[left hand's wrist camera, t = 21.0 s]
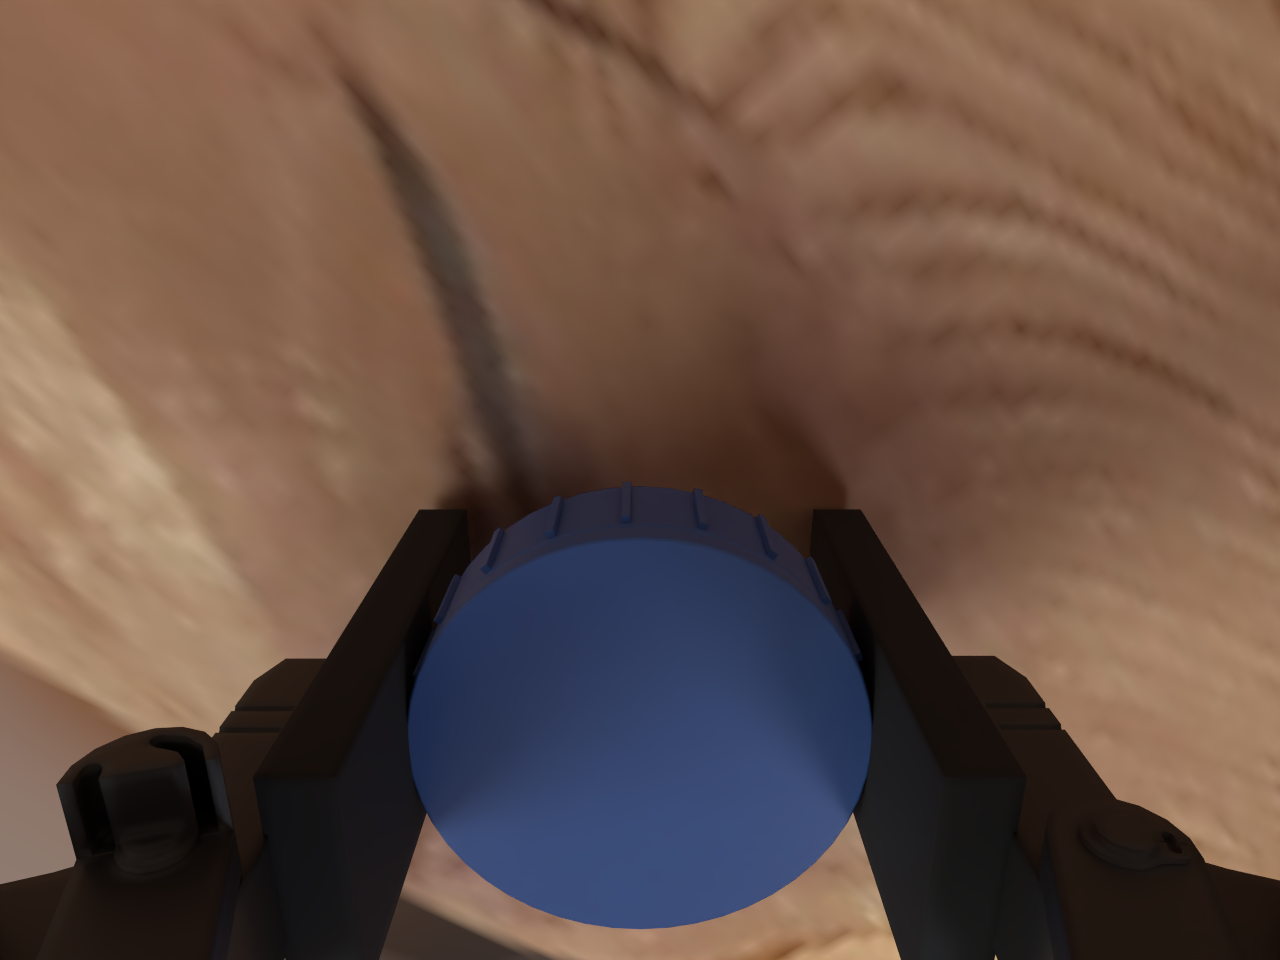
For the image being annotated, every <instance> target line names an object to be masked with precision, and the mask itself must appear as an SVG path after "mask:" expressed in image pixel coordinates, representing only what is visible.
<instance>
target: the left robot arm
mask: <svg viewBox="0 0 1280 960" xmlns="http://www.w3.org/2000/svg"><path fill="white" fill-rule="evenodd" d="M810 556H811V557H812V559H813V560H814V561H815V563H816V566H817V568H818V570H819V573H820V575H821V577H822V580H823V582H824V584H825V587H826V589H827V591H828V594H829V596H830V598H831V601H832V603H833V605H834V607H835V610H836V611H838V610H841V609H842V611H843V613H844V615H845V617H846V620H847V622H848V624H849V626H850V629H851V631H852V633H853V635H854V638H855V640H856V642H857V644H858V647H859V649H860V651H861V654H862V657H863V660H861V661H858V663H859V666H860V668H861V670H862V673H863V676H864V680H865V683H866V686H867V690H868V693H869V697H870V703H871V711H872V718H873V729H872V740H871V750H870V759H869V768H868V776H867V778H866V781H865V784H864V787H863V790H862V793H861V796H860V799H859V801H858V803H857V805H856V807H855V809H854V811H853V813H854V816H855V819H856V822H857V826H858V829H859V832H860V835H861V838H862V841H863V844H864V847H865V850H866V853H867V856H868V859H869V862H870V866H871V869H872V872H873V875H874V878H875V881H876V884H877V887H878V890H879V893H880V896H881V899H882V902H883V906H884V909H885V912H886V915H887V918H888V921H889V924H890V927H891V930H892V933H893V936H894V939H895V942H896V946H897V949H898V952H899V955H900V958H901V960H994V959H995V955H996V957H997V959H998V960H1280V880H1275V879H1271V878H1266V877H1262V876H1257V875H1253V874H1248V873H1244V872H1239V871H1235V870H1230V869H1226V868H1223V867H1219V866H1216V865H1212V864H1209V863H1205V861H1204V858H1203V857H1202V855H1201V854H1200V852H1199V851H1198V849H1197V848H1196V847H1195V845H1194V844H1193V842H1192V841H1191V839H1190V838H1189V837H1188V836H1186V835H1185V834H1184V833H1183V832H1181V831H1180V830H1179V829H1178V828H1177V827H1175V826H1174V825H1173V824H1172V823H1170V822H1169V821H1168V820H1166V819H1164V818H1162V817H1160V816H1158V815H1156V814H1154V813H1152V812H1150V811H1148V810H1146V809H1144V808H1143V807H1141V806H1138V805H1135V804H1131V803H1128V802H1124V801H1120V800H1117V799H1116V798H1115V797H1114V795H1113V794H1112V793H1111V791H1110V790H1109V789H1108V787H1107V786H1106V785H1105V783H1104V782H1103V781H1102V779H1101V778H1100V777H1099V775H1098V774H1097V772H1096V771H1095V770H1094V768H1093V767H1092V766H1091V764H1090V763H1089V762H1088V760H1087V759H1086V758H1085V756H1084V755H1083V754H1082V752H1081V751H1080V749H1079V748H1078V747H1077V745H1076V744H1075V743H1074V741H1073V740H1072V739H1071V737H1070V736H1069V735H1068V733H1067V732H1066V731H1065V730H1062V729H1061V724H1060V722H1059V721H1058V720H1057V718H1056V717H1055V716H1054V714H1053V713H1052V712H1051V710H1050V709H1049V708H1046V707H1045V702H1044V701H1043V699H1042V698H1041V697H1040V695H1039V694H1038V693H1037V691H1036V690H1035V689H1034V687H1033V686H1032V685H1031V683H1030V682H1029V681H1028V679H1027V678H1026V677H1025V676H1023V675H1022V674H1020V673H1019V672H1017V671H1016V670H1014V669H1013V668H1011V667H1010V666H1008V665H1007V664H1006V663H1004V662H1003V661H1001V660H1000V659H998V658H997V657H995V656H951V654H950V652H949V651H948V649H947V648H946V646H945V644H944V643H943V641H942V640H941V638H940V636H939V635H938V633H937V632H936V630H935V628H934V627H933V625H932V624H931V622H930V620H929V619H928V617H927V616H926V614H925V612H924V611H923V609H922V607H921V606H920V604H919V603H918V601H917V599H916V598H915V596H914V595H913V593H912V591H911V590H910V588H909V587H908V585H907V583H906V582H905V580H904V579H903V577H902V575H901V574H900V572H899V571H898V569H897V567H896V566H895V564H894V563H893V561H892V559H891V558H890V556H889V554H888V553H887V551H886V550H885V548H884V546H883V545H882V543H881V542H880V540H879V538H878V537H877V535H876V534H875V532H874V530H873V529H872V527H871V526H870V524H869V522H868V521H867V519H866V518H865V516H864V514H863V513H862V511H861V510H813V523H812V537H811V550H810ZM469 565H470V552H469V538H468V524H467V510H419V511H418V513H417V514H416V516H415V517H414V519H413V521H412V522H411V524H410V525H409V527H408V529H407V530H406V532H405V533H404V535H403V537H402V538H401V540H400V542H399V543H398V545H397V546H396V548H395V550H394V551H393V553H392V554H391V556H390V558H389V559H388V561H387V562H386V564H385V566H384V567H383V569H382V570H381V572H380V574H379V575H378V577H377V578H376V580H375V582H374V583H373V585H372V586H371V588H370V590H369V591H368V593H367V595H366V596H365V598H364V599H363V601H362V603H361V604H360V606H359V607H358V609H357V611H356V612H355V614H354V615H353V617H352V619H351V620H350V622H349V623H348V625H347V627H346V628H345V630H344V631H343V633H342V635H341V636H340V638H339V639H338V641H337V643H336V644H335V646H334V647H333V649H332V651H331V652H330V654H329V656H328V657H327V659H285V660H283V661H282V662H280V663H279V664H277V665H276V666H275V667H273V668H272V669H270V670H269V671H267V672H266V673H264V674H263V675H261V676H260V677H258V678H257V679H256V680H254V681H253V683H252V684H251V685H250V687H249V688H248V689H247V691H246V692H245V693H244V695H243V696H242V698H241V699H240V700H239V702H238V703H237V704H236V706H235V711H231V713H230V714H229V715H228V717H227V718H226V719H225V721H224V722H223V723H222V725H221V726H220V731H219V733H215V734H214V736H213V737H210V736H209V735H208V734H207V733H206V732H203V731H199V730H194V729H190V728H185V727H171V728H154V729H150V730H146V731H142V732H138V733H134V734H130V735H126V736H123V737H121V738H119V739H117V740H114V741H112V742H110V743H108V744H105V745H103V746H101V747H99V748H96V749H94V750H93V751H92V752H90V753H89V754H87V755H86V756H85V757H83V758H82V759H80V760H79V761H77V762H76V763H75V764H73V765H72V766H71V767H70V768H69V769H68V771H67V772H66V773H65V774H64V776H63V777H62V778H61V779H60V781H59V782H58V783H57V784H56V786H57V790H58V793H59V797H60V800H61V804H62V808H63V811H64V815H65V819H66V823H67V826H68V830H69V834H70V837H71V841H72V844H73V848H74V852H75V856H76V859H77V860H76V862H75V865H74V867H71V868H67V869H64V870H60V871H57V872H54V873H49V874H45V875H40V876H36V877H31V878H27V879H22V880H18V881H13V882H9V883H4V884H0V960H284V959H286V960H379V958H380V954H381V951H382V948H383V945H384V942H385V939H386V936H387V933H388V930H389V927H390V924H391V921H392V917H393V915H394V911H395V908H396V905H397V902H398V899H399V896H400V893H401V890H402V887H403V884H404V881H405V878H406V875H407V871H408V868H409V865H410V862H411V859H412V856H413V853H414V850H415V847H416V844H417V841H418V838H419V835H420V831H421V828H422V825H423V822H424V819H425V816H426V813H427V812H426V810H425V808H424V806H423V804H422V802H421V800H420V797H419V795H418V792H417V789H416V786H415V783H414V780H413V777H412V768H411V760H410V751H409V741H408V731H407V714H408V706H409V698H410V695H411V691H412V688H413V684H414V682H413V673H414V670H415V668H416V666H417V664H418V661H419V659H420V657H421V654H422V652H423V650H424V648H425V645H426V643H427V641H428V638H429V636H430V634H431V632H432V629H433V630H435V629H436V627H437V625H438V623H437V622H435V621H434V619H435V617H436V615H437V612H438V610H439V608H440V606H441V603H442V601H443V599H444V597H445V594H446V592H447V590H448V587H449V585H450V583H451V581H452V579H453V577H454V576H455V574H457V575H459V576H462V575H463V573H464V572H465V570H466V569H467V567H468V566H469Z"/></svg>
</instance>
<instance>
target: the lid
mask: <svg viewBox="0 0 1280 960" xmlns="http://www.w3.org/2000/svg"><path fill="white" fill-rule="evenodd" d="M434 621H435V622H437V623H438V625H437V627H436V629H435V630H433V629H432V632H431V634H430V636H429V638H428V641H427V643H426V645H425V648H424V650H423V652H422V654H421V657H420V659H419V661H418V664H417V666H416V668H415V670H414V673H413V682H414V684H413V688H412V691H411V695H410V698H409V706H408V714H407V731H408V741H409V751H410V760H411V768H412V777H413V780H414V783H415V786H416V789H417V792H418V795H419V797H420V800H421V802H422V804H423V806H424V808H425V810H426V812H427V814H428V816H429V818H430V819H431V821H432V823H433V825H434V826H435V827H436V829H437V830H438V832H439V833H440V834H441V836H442V837H443V839H444V840H445V841H446V843H447V844H448V845H449V846H450V847H451V849H452V850H453V851H454V852H455V853H456V854H457V855H458V856H459V857H460V858H461V859H462V860H463V861H464V862H465V863H466V864H467V865H468V866H469V867H470V868H472V869H473V870H474V871H475V872H476V873H478V874H479V875H480V876H481V877H482V878H484V879H485V880H486V881H488V882H489V883H491V884H492V885H494V886H495V887H497V888H498V889H500V890H501V891H503V892H504V893H506V894H507V895H509V896H511V897H513V898H515V899H517V900H519V901H521V902H523V903H525V904H527V905H529V906H531V907H534V908H536V909H539V910H542V911H544V912H547V913H550V914H552V915H555V916H558V917H561V918H565V919H569V920H573V921H577V922H581V923H585V924H591V925H598V926H605V927H611V928H629V929H651V928H669V927H675V926H682V925H688V924H695V923H699V922H703V921H707V920H710V919H714V918H718V917H722V916H725V915H727V914H730V913H733V912H735V911H738V910H741V909H743V908H746V907H748V906H750V905H752V904H754V903H756V902H758V901H760V900H762V899H764V898H766V897H768V896H770V895H772V894H774V893H775V892H777V891H778V890H780V889H781V888H783V887H784V886H786V885H787V884H789V883H790V882H792V881H793V880H795V879H796V878H797V877H798V876H800V875H801V874H802V873H803V872H804V871H806V870H807V869H808V868H809V867H810V866H811V865H813V864H814V863H815V862H816V861H817V860H818V859H819V858H820V857H821V855H822V854H823V853H824V852H825V851H826V850H827V849H828V848H829V847H830V846H831V845H832V844H833V842H834V841H835V839H836V838H837V837H838V835H839V834H840V832H841V831H842V829H843V828H844V827H845V825H846V824H847V822H848V820H849V818H850V817H851V815H852V813H853V811H854V809H855V807H856V805H857V803H858V801H859V799H860V796H861V793H862V790H863V787H864V784H865V781H866V778H867V776H868V768H869V759H870V750H871V740H872V729H873V718H872V711H871V703H870V697H869V693H868V690H867V686H866V683H865V680H864V676H863V673H862V670H861V668H860V666H859V663H858V661H861V660H863V657H862V654H861V651H860V649H859V647H858V644H857V642H856V640H855V638H854V635H853V633H852V631H851V629H850V626H849V624H848V622H847V620H846V617H845V615H844V613H843V611H842V609H841V610H838V611H836V610H835V607H834V605H833V603H832V601H831V598H830V596H829V594H828V591H827V589H826V587H825V584H824V582H823V580H822V577H821V575H820V573H819V570H818V568H817V566H816V563H815V561H814V560H813V559H812V557H811V556H810V557H808V558H807V559H805V558H804V557H803V556H802V555H801V554H800V553H799V552H798V551H797V550H796V548H795V547H794V546H793V545H792V544H791V543H789V542H788V541H787V540H786V539H785V538H783V537H782V536H781V535H780V534H779V533H777V532H776V531H775V530H774V529H773V528H771V527H770V526H769V525H768V522H767V519H766V517H764V516H762V515H761V514H759V515H758V516H757V518H755V517H754V516H752V515H751V514H749V513H747V512H745V511H743V510H740V509H738V508H736V507H734V506H732V505H730V504H727V503H725V502H723V501H720V500H716V499H713V498H710V497H707V496H704V495H703V491H702V490H701V489H697V488H694V491H693V492H687V491H682V490H676V489H671V488H660V487H643V486H635V487H632V486H631V482H623V487H620V488H608V489H603V490H597V491H592V492H587V493H582V494H579V495H575V496H572V497H569V498H566V499H563V498H562V496H561V495H559V496H556V497H554V498H553V501H552V504H550V505H548V506H545V507H543V508H541V509H539V510H537V511H535V512H533V513H531V514H529V515H527V516H526V517H524V518H522V519H521V520H519V521H518V522H516V523H515V524H513V525H512V526H510V527H508V528H507V529H505V530H503V529H502V528H501V527H499V528H498V529H497V530H496V531H494V534H493V536H492V539H491V542H490V543H489V544H488V545H487V546H486V547H485V548H484V549H483V550H482V551H481V552H480V553H479V554H478V556H477V557H476V558H475V559H474V560H473V561H472V562H471V563H470V565H469V566H468V567H467V569H466V570H465V572H464V573H463V575H462V576H459V575H457V574H455V576H454V577H453V579H452V581H451V583H450V585H449V587H448V590H447V592H446V594H445V597H444V599H443V601H442V603H441V606H440V608H439V610H438V612H437V615H436V617H435V619H434Z"/></svg>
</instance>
